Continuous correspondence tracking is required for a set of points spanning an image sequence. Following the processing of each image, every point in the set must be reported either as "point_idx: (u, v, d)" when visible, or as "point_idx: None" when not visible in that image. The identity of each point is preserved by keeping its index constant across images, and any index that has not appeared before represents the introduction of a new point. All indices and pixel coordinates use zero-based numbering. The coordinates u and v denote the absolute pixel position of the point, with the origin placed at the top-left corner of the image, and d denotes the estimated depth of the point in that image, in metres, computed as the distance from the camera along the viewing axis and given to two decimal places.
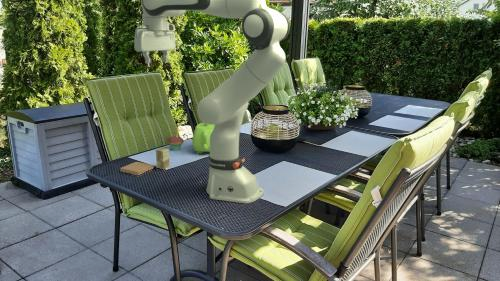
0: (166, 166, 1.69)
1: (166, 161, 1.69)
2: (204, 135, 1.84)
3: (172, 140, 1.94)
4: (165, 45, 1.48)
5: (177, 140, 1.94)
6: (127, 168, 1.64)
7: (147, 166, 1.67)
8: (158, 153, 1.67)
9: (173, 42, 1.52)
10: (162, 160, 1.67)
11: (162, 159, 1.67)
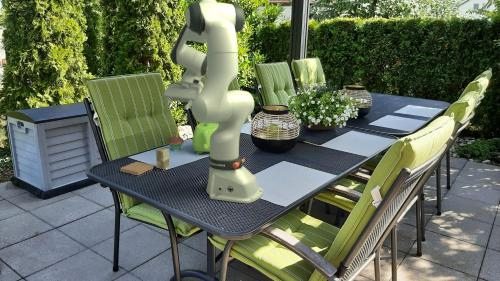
0: (166, 166, 1.69)
1: (166, 161, 1.69)
2: (204, 135, 1.84)
3: (172, 140, 1.94)
4: (187, 94, 1.74)
5: (177, 140, 1.94)
6: (127, 168, 1.64)
7: (147, 166, 1.67)
8: (158, 153, 1.67)
9: (197, 93, 1.72)
10: (162, 160, 1.67)
11: (162, 159, 1.67)
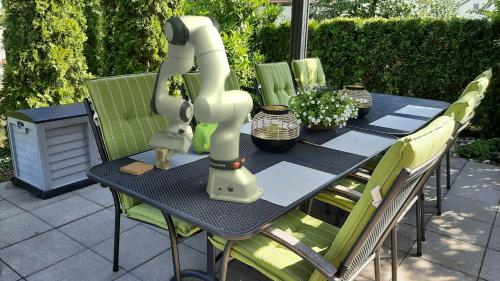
0: (166, 166, 1.69)
1: (166, 161, 1.69)
2: (204, 135, 1.84)
3: None
4: (172, 145, 1.68)
5: None
6: (127, 168, 1.64)
7: (147, 166, 1.67)
8: (158, 153, 1.67)
9: (182, 144, 1.67)
10: (162, 160, 1.67)
11: (162, 159, 1.67)
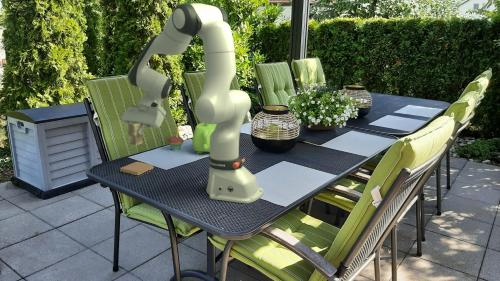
0: (138, 141, 1.63)
1: (139, 135, 1.62)
2: (204, 135, 1.84)
3: (172, 140, 1.94)
4: (144, 119, 1.62)
5: (177, 140, 1.94)
6: (127, 168, 1.64)
7: (147, 166, 1.67)
8: (130, 127, 1.60)
9: (154, 118, 1.60)
10: (134, 135, 1.60)
11: (134, 133, 1.60)
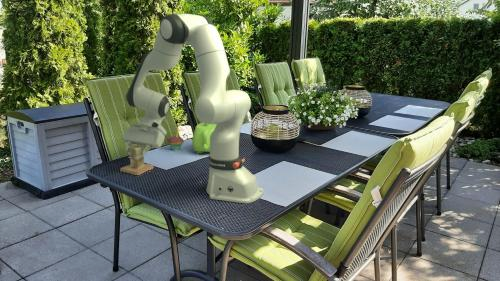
0: (140, 164, 1.65)
1: (140, 159, 1.65)
2: (204, 135, 1.84)
3: (172, 140, 1.94)
4: (145, 139, 1.64)
5: (177, 140, 1.94)
6: (127, 168, 1.64)
7: (147, 166, 1.67)
8: (132, 151, 1.63)
9: (155, 138, 1.62)
10: (135, 158, 1.63)
11: (136, 157, 1.63)
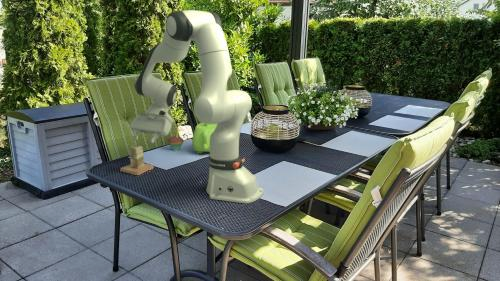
0: (140, 164, 1.66)
1: (140, 158, 1.65)
2: (204, 135, 1.84)
3: (172, 140, 1.94)
4: (153, 127, 1.67)
5: (177, 140, 1.94)
6: (127, 168, 1.64)
7: (147, 166, 1.67)
8: (131, 150, 1.64)
9: (163, 126, 1.66)
10: (135, 158, 1.64)
11: (136, 156, 1.63)
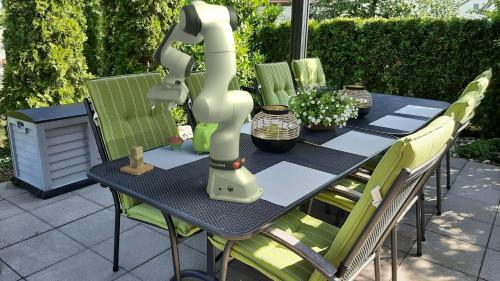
0: (140, 164, 1.66)
1: (140, 158, 1.65)
2: (204, 135, 1.84)
3: (172, 140, 1.94)
4: (169, 96, 1.72)
5: (177, 140, 1.94)
6: (127, 168, 1.64)
7: (147, 166, 1.67)
8: (131, 151, 1.63)
9: (179, 94, 1.70)
10: (135, 158, 1.63)
11: (135, 157, 1.63)
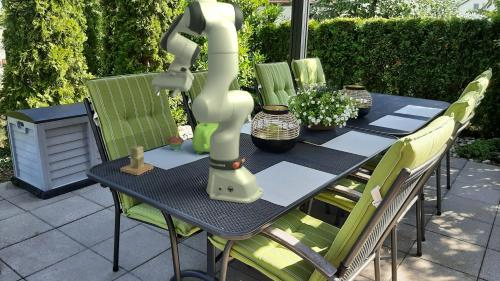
0: (140, 164, 1.66)
1: (141, 158, 1.65)
2: (204, 135, 1.84)
3: (172, 140, 1.94)
4: (174, 82, 1.72)
5: (177, 140, 1.94)
6: (127, 168, 1.64)
7: (147, 166, 1.67)
8: (132, 151, 1.63)
9: (184, 81, 1.70)
10: (136, 158, 1.63)
11: (136, 157, 1.63)
